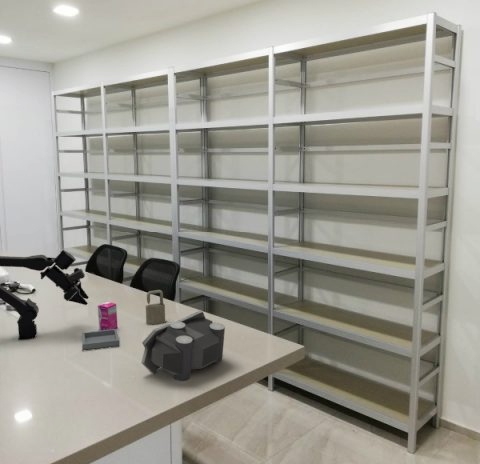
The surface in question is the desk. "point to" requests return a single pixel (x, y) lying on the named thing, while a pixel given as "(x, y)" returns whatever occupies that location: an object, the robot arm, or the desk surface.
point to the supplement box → (107, 316)
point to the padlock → (155, 309)
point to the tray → (100, 339)
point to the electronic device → (184, 346)
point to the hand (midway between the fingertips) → (87, 301)
